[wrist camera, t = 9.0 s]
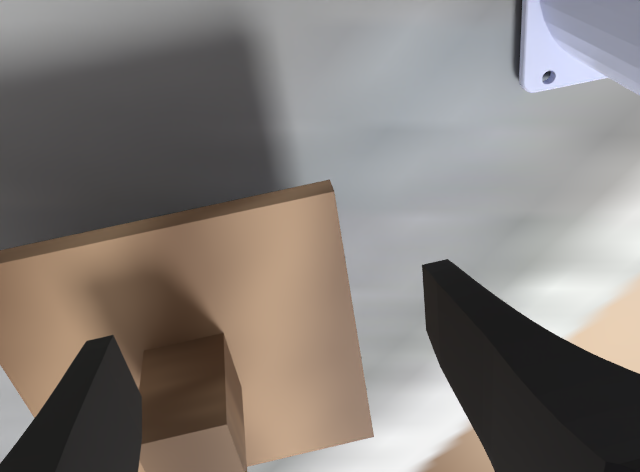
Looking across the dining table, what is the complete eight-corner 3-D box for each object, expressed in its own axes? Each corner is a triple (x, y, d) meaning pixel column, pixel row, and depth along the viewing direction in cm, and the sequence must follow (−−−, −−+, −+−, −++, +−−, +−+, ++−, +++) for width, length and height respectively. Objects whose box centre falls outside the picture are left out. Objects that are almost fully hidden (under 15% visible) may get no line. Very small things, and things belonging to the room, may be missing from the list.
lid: (329, 179, 19) (361, 266, 15) (369, 421, 26) (399, 525, 22) (-48, 260, 19) (-117, 372, 15) (93, 486, 25) (71, 605, 21)
